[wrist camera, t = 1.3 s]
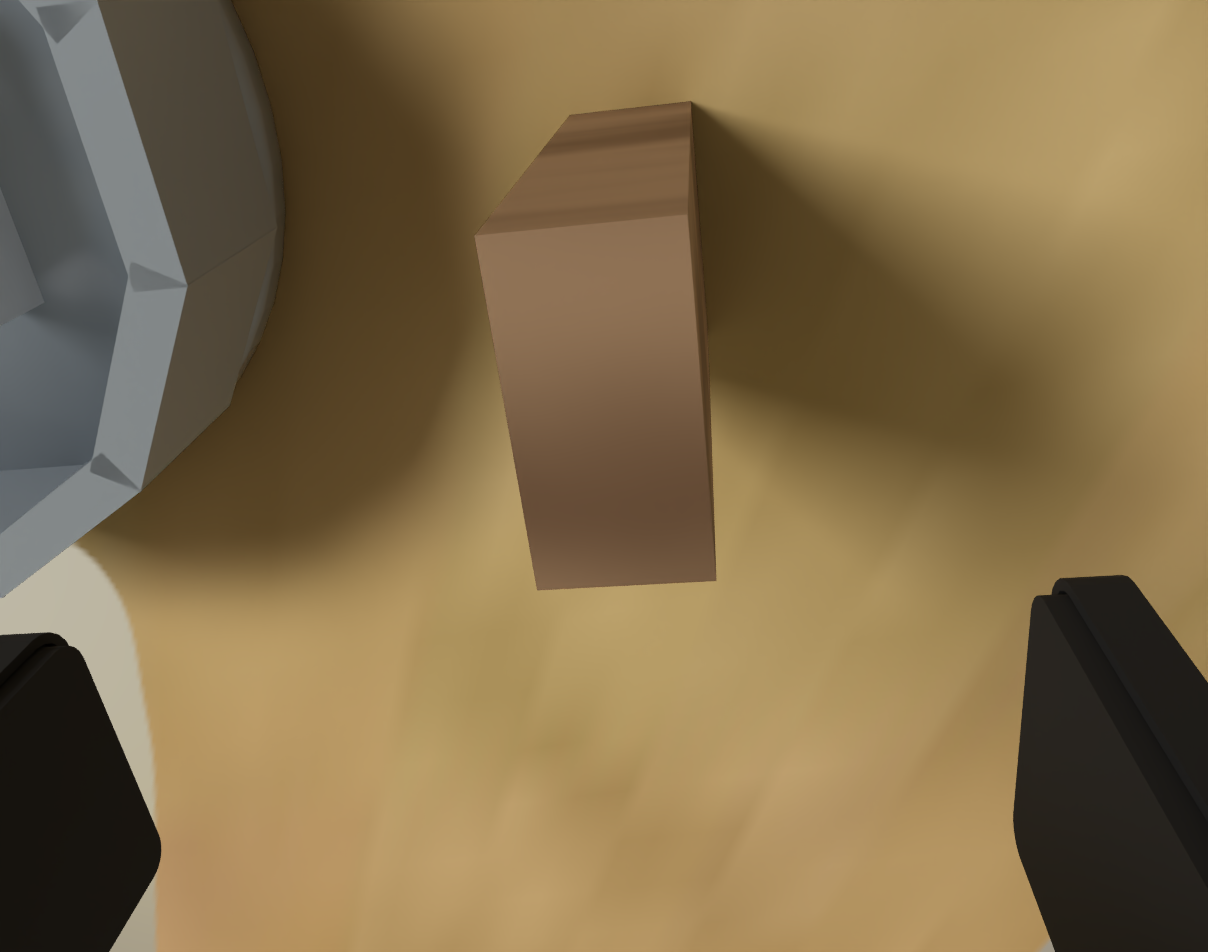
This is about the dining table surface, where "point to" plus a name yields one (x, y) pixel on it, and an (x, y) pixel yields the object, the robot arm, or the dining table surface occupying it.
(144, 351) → the grey bowl
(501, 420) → the dining table surface
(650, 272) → the brown rectangular block
